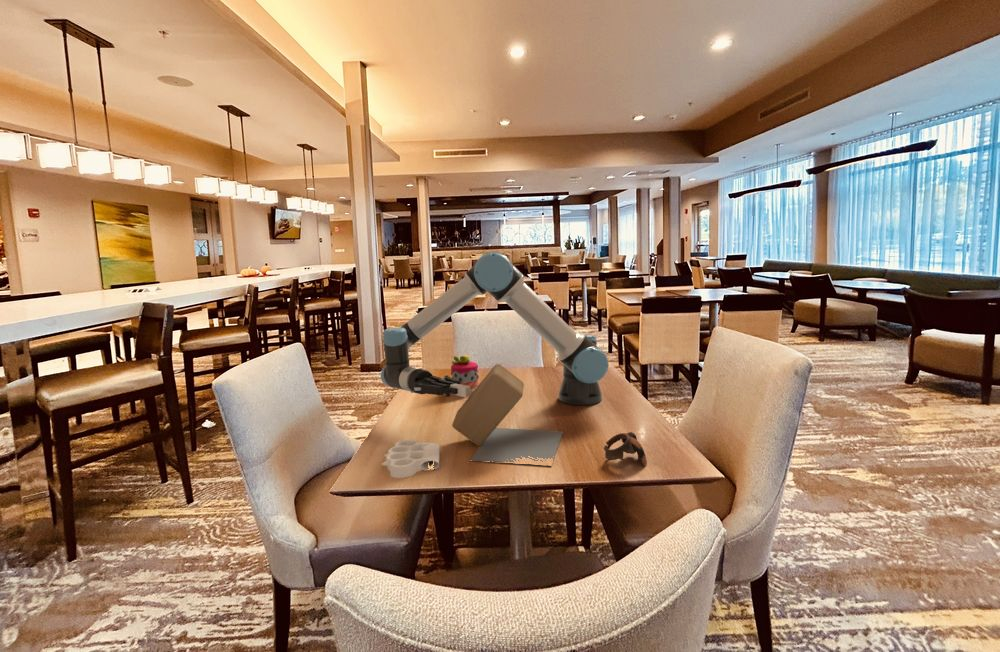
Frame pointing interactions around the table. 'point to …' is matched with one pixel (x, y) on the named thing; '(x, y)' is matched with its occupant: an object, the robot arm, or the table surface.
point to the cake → (465, 372)
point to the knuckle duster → (411, 457)
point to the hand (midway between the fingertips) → (468, 392)
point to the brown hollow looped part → (625, 447)
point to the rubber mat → (518, 445)
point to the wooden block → (488, 404)
